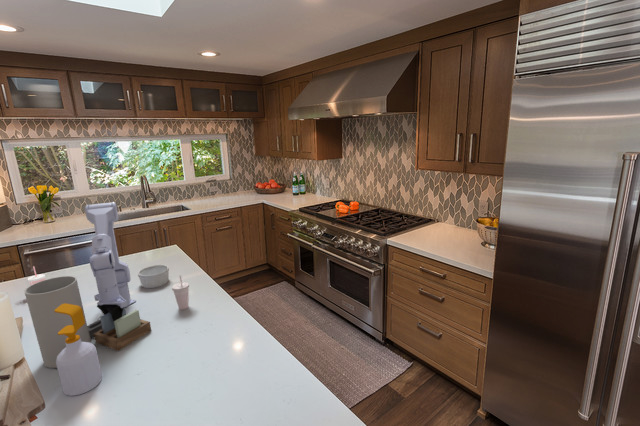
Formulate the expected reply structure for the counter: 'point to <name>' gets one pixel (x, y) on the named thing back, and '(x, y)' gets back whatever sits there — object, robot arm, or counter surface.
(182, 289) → the smoothie
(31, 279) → the beverage cup
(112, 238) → the robot arm
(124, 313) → the blue grey tile
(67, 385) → the soap bottle
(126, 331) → the thin sage green tile
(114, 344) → the rack
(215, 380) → the counter surface
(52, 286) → the cylinder vase
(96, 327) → the stand
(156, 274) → the ramekin
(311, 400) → the counter surface
